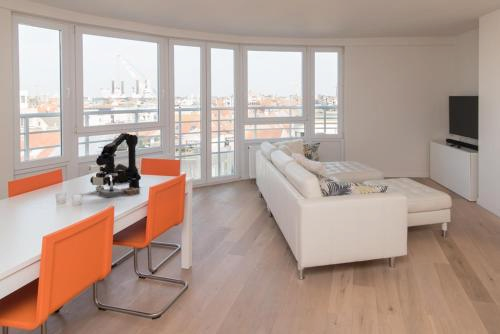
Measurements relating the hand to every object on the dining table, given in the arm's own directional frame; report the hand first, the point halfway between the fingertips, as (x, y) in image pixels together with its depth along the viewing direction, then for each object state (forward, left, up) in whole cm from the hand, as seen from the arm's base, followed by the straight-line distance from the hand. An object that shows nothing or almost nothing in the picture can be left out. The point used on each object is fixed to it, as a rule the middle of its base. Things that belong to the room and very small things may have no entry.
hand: (111, 185), depth 297 cm
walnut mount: (-11, +5, -6) cm, 14 cm away
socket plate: (0, 0, -6) cm, 6 cm away
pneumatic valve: (0, -18, -6) cm, 19 cm away
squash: (-28, -38, -7) cm, 48 cm away
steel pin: (0, 0, -4) cm, 5 cm away
